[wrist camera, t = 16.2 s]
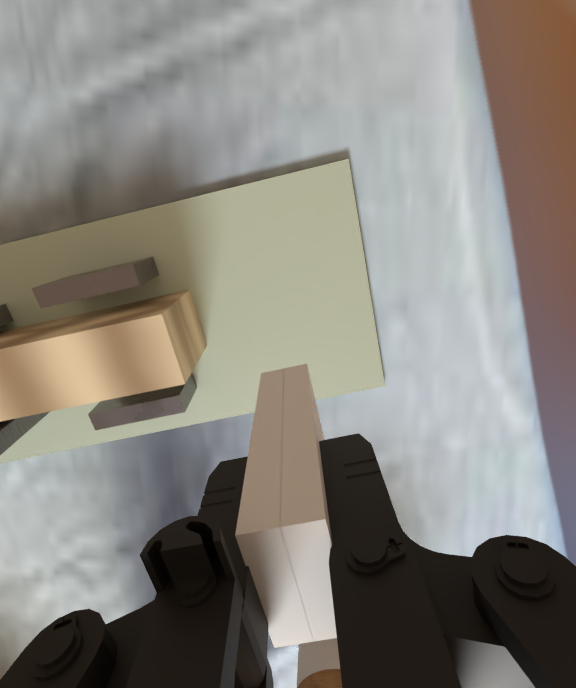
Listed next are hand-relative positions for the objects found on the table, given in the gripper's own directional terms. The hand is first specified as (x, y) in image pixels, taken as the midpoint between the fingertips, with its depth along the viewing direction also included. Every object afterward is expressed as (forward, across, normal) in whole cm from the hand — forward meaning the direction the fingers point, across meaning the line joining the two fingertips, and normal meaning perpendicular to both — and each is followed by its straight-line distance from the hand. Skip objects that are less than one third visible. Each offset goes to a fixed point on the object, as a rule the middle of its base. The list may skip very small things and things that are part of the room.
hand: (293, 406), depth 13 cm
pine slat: (+14, -15, 0) cm, 21 cm away
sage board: (+14, -11, 0) cm, 18 cm away
